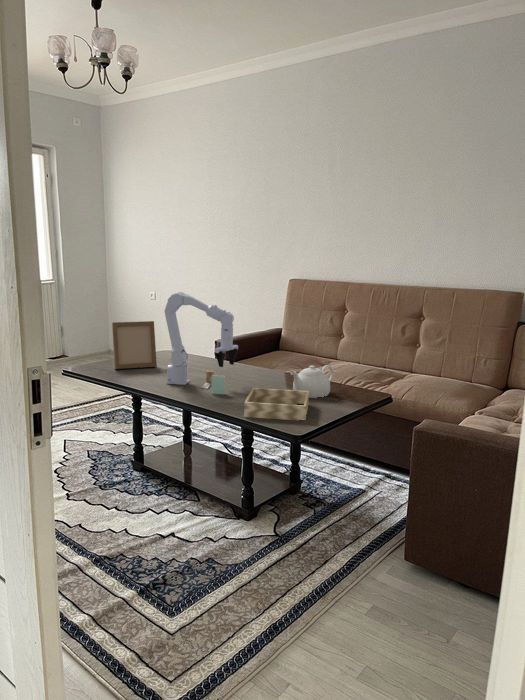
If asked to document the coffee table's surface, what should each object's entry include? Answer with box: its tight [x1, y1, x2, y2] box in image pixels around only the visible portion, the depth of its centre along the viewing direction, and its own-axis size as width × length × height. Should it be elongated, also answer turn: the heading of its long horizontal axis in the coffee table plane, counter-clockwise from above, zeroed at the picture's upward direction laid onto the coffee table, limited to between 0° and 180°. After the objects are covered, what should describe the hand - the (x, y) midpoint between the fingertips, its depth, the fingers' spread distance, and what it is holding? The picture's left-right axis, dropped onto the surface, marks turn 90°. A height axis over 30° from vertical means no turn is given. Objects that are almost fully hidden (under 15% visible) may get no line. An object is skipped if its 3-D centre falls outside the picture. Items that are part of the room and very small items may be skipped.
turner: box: [201, 369, 215, 390], centre depth 262 cm, size 3×13×6 cm, turn 172°
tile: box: [210, 374, 226, 395], centre depth 248 cm, size 6×2×8 cm, turn 82°
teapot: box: [290, 364, 335, 399], centre depth 251 cm, size 19×18×14 cm
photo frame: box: [111, 320, 158, 370], centre depth 296 cm, size 15×22×25 cm
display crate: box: [243, 387, 310, 421], centre depth 225 cm, size 24×22×6 cm
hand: (226, 365), depth 262 cm, fingers open, 7 cm apart
